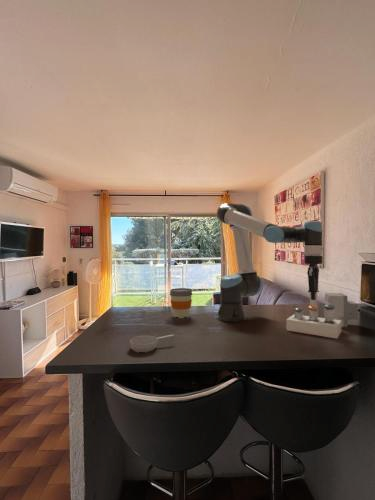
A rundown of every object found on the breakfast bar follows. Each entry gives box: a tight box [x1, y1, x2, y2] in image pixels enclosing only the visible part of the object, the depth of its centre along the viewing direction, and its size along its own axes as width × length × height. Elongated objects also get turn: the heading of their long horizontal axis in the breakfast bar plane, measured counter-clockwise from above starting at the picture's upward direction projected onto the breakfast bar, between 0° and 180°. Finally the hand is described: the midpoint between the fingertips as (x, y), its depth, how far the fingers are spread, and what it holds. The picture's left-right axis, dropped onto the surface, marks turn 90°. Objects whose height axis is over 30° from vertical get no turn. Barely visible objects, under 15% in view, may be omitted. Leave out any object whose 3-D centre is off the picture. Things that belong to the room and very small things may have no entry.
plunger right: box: [323, 304, 335, 324], centre depth 125 cm, size 4×4×9 cm
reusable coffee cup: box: [169, 287, 193, 319], centre depth 158 cm, size 13×13×15 cm
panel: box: [286, 313, 342, 339], centre depth 128 cm, size 21×12×5 cm, turn 54°
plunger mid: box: [308, 305, 320, 322], centre depth 128 cm, size 4×4×9 cm
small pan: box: [129, 333, 175, 353], centre depth 110 cm, size 11×18×4 cm, turn 114°
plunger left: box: [293, 307, 305, 320], centre depth 132 cm, size 4×4×9 cm
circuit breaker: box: [324, 292, 361, 328], centre depth 137 cm, size 8×14×15 cm, turn 78°
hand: (313, 306), depth 128 cm, fingers closed
